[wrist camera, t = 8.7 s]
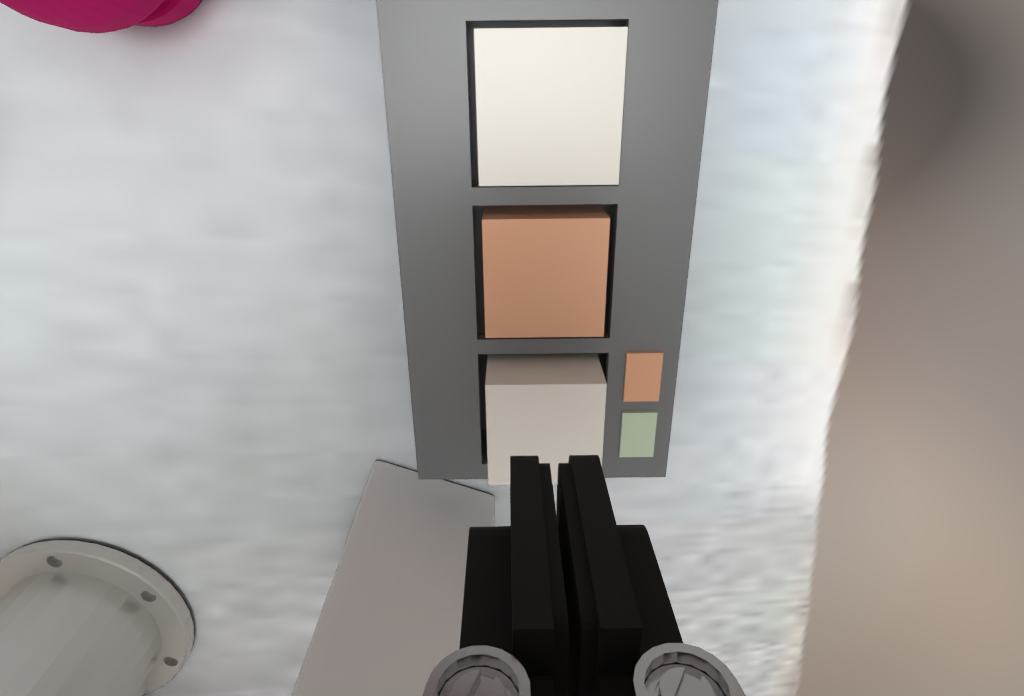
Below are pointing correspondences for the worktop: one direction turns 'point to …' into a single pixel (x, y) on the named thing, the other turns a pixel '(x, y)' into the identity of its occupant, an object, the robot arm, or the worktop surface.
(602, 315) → the key terracotta
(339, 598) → the milk carton
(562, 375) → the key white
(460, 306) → the keypad
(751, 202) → the worktop surface
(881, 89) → the worktop surface
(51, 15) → the pepper mill
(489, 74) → the key white mid
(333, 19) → the worktop surface
